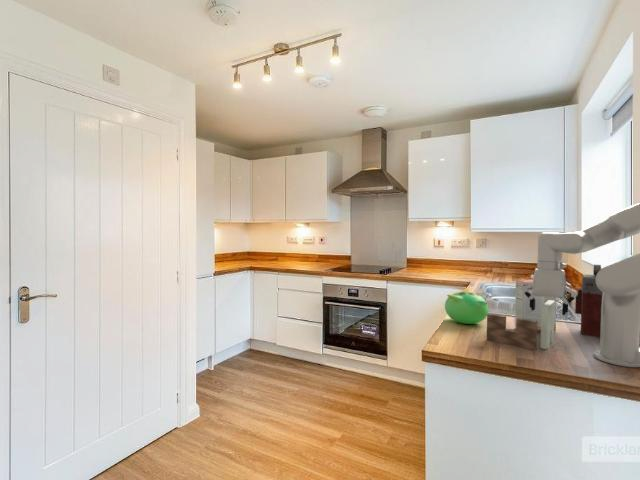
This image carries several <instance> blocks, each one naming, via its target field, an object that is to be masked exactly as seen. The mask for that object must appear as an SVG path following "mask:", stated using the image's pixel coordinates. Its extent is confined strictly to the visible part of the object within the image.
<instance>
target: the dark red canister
mask: <svg viewBox="0 0 640 480" xmlns="http://www.w3.org/2000/svg"><path fill="white" fill-rule="evenodd" d="M601 269H602V265H601V264H593V270H592V271H593V274H589V273H588V274H583V276H582V278H581V279H582V280H581V288H580V287H579V288H578V290H577V292H578V295H577V296H576V297H575V299H574V301H575V304H574V305H575V308H574V309H575V310H574V314H578V315H580V335H582V336H589V337H595V338H600V333H601V307H602V294H603V292H602V291H601V290H600V289H599V288H598V287H597V285H596V281H595V280H596V275H597V273H598V272H599V271H600V270H601Z"/></svg>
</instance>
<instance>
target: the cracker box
mask: <svg viewBox="0 0 640 480" xmlns="http://www.w3.org/2000/svg"><path fill="white" fill-rule="evenodd" d="M532 283H533V279H516V280H515V329H516V320H517V318H524V319H531V320H537V333H541V309H542V306H543V305H544V304H545V303H546V302H547V301H548V300H553V301H555V318H554V332H556V331H557V329H556V328H557V325H556V323H557V298H553V297H545V296H535V297H534V299H535V310H533V311H532V310H531V308H530V299H529V298H528V297H527V296H526V295H525V293H524V291H523V289H522V287H523V286H526V285H529V284H532ZM527 290H528V292H529V293H530V294H531V295H532V294H533V292H532V287H531V288H528V289H527Z"/></svg>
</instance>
